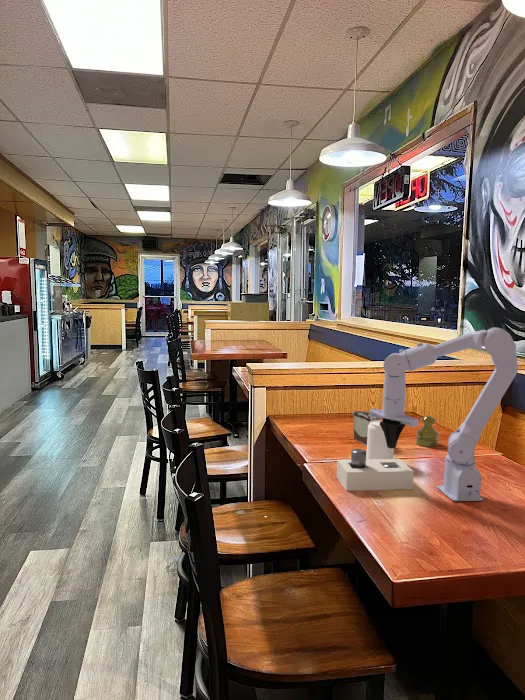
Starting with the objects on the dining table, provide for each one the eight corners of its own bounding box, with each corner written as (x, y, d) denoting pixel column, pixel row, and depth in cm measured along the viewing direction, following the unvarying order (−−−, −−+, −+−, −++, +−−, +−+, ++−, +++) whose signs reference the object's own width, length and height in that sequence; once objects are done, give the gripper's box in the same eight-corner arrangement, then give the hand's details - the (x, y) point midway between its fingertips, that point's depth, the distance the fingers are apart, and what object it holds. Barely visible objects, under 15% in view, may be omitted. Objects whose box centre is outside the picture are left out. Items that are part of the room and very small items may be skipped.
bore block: (412, 489, 132) (413, 471, 132) (346, 490, 130) (347, 472, 130) (398, 475, 142) (399, 458, 141) (336, 477, 140) (337, 459, 140)
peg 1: (367, 469, 133) (368, 453, 133) (353, 469, 133) (353, 453, 132) (363, 464, 137) (363, 448, 137) (348, 464, 137) (349, 448, 136)
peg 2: (399, 483, 135) (400, 467, 134) (385, 483, 134) (385, 467, 134) (393, 478, 139) (394, 462, 138) (379, 478, 138) (380, 462, 138)
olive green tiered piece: (416, 446, 171) (418, 417, 170) (415, 440, 179) (416, 413, 177) (439, 448, 170) (441, 419, 169) (436, 442, 177) (438, 414, 176)
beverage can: (393, 458, 158) (395, 421, 156) (392, 466, 150) (395, 427, 149) (367, 455, 160) (368, 418, 158) (365, 463, 152) (367, 424, 151)
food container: (386, 446, 170) (387, 417, 169) (371, 448, 168) (372, 418, 167) (366, 436, 182) (367, 409, 181) (351, 438, 179) (352, 410, 178)
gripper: (426, 401, 131) (423, 451, 132) (381, 392, 142) (379, 438, 144) (410, 404, 127) (407, 456, 128) (365, 394, 138) (363, 442, 139)
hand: (391, 447), depth 136 cm, fingers closed
